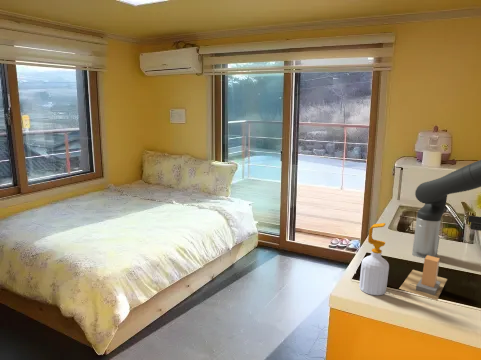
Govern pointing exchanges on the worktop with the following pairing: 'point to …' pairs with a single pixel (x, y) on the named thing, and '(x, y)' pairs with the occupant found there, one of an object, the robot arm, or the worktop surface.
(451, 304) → the worktop surface
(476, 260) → the worktop surface
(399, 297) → the worktop surface
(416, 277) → the oak board
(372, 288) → the soap bottle
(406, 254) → the worktop surface
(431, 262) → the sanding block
